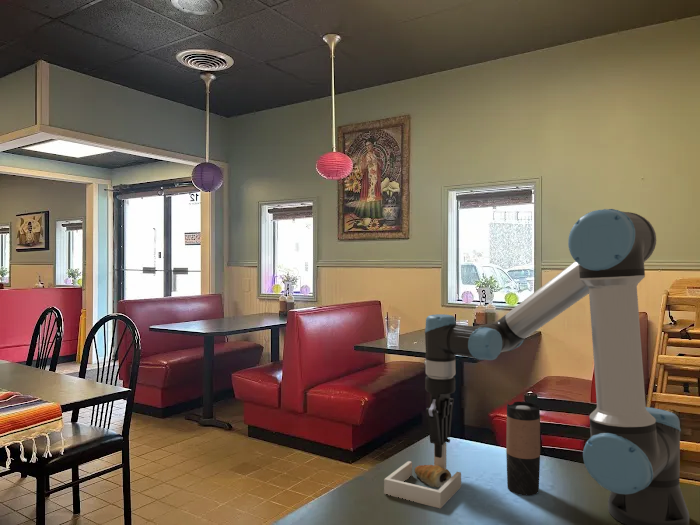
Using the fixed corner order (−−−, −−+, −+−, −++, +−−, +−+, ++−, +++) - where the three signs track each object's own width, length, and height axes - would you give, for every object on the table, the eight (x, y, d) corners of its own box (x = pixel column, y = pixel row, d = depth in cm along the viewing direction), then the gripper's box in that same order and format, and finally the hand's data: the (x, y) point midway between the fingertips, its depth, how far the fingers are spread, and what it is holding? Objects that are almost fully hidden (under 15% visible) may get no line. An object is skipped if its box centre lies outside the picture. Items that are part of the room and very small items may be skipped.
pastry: (408, 477, 136) (408, 461, 136) (426, 470, 140) (426, 455, 140) (435, 489, 129) (436, 473, 129) (454, 482, 133) (454, 467, 133)
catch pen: (461, 486, 130) (461, 472, 130) (440, 508, 119) (440, 492, 119) (408, 474, 137) (408, 461, 137) (384, 493, 126) (384, 479, 126)
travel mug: (542, 497, 124) (542, 411, 124) (507, 494, 126) (507, 409, 125) (537, 483, 132) (537, 402, 131) (505, 481, 133) (505, 400, 133)
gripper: (436, 369, 144) (436, 457, 145) (415, 379, 133) (415, 474, 134) (463, 372, 140) (463, 463, 141) (444, 382, 129) (444, 480, 130)
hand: (440, 468), depth 137 cm, fingers closed
